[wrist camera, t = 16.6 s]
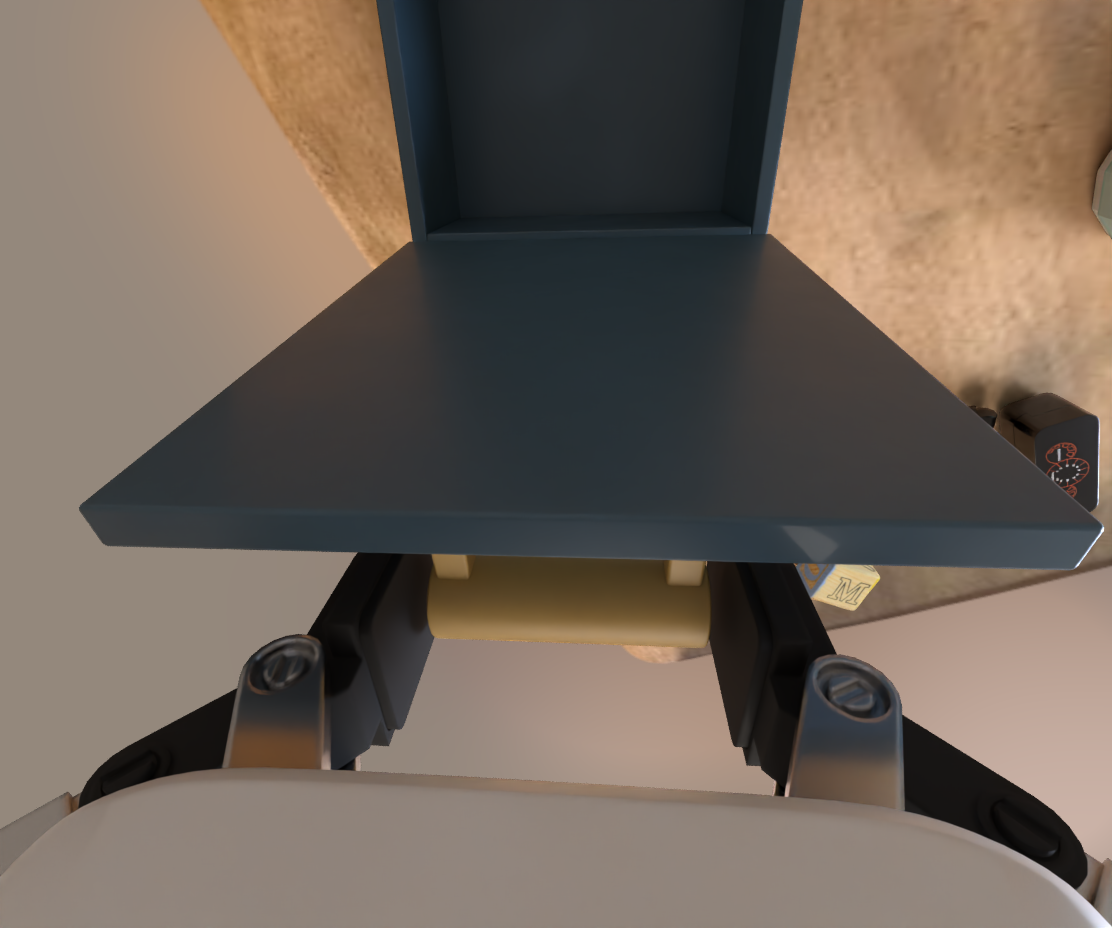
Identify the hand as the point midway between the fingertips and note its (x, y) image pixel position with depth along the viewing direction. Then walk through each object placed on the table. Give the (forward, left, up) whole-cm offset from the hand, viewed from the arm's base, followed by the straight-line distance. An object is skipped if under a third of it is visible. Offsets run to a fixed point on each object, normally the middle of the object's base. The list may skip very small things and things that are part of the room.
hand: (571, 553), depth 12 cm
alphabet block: (+15, +16, -19) cm, 29 cm away
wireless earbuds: (+6, +24, -19) cm, 31 cm away
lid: (-5, 0, -4) cm, 6 cm away
